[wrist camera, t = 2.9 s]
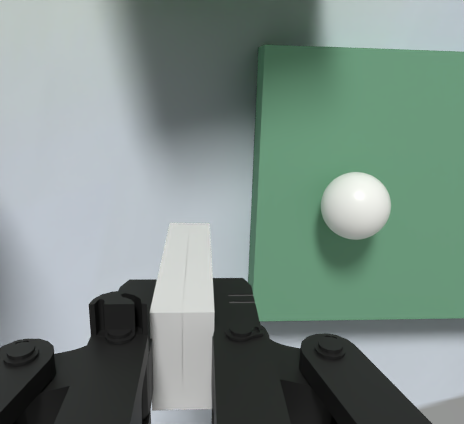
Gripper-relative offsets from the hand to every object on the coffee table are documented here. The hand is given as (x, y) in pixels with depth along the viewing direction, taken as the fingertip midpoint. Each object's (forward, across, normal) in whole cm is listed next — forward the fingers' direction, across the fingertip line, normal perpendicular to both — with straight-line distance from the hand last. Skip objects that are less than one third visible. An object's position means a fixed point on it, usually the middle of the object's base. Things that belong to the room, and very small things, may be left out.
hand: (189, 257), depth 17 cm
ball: (+7, +9, 0) cm, 11 cm away
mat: (+11, +16, 0) cm, 19 cm away
